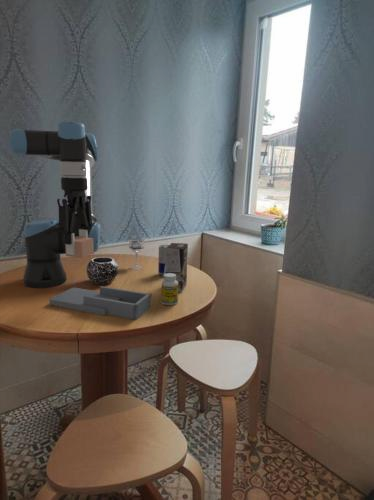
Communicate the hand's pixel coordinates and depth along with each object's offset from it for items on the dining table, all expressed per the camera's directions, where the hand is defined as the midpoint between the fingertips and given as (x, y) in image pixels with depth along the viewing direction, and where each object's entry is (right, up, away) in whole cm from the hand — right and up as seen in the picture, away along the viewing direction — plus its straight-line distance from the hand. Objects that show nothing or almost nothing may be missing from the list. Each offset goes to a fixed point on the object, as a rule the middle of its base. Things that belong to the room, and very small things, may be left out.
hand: (77, 251), depth 111 cm
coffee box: (+30, -14, +19) cm, 39 cm away
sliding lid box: (+7, -17, +1) cm, 19 cm away
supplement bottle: (+29, -17, +6) cm, 34 cm away
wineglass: (+12, -7, +43) cm, 45 cm away
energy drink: (+25, -10, +35) cm, 44 cm away
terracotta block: (+1, -1, 0) cm, 1 cm away
